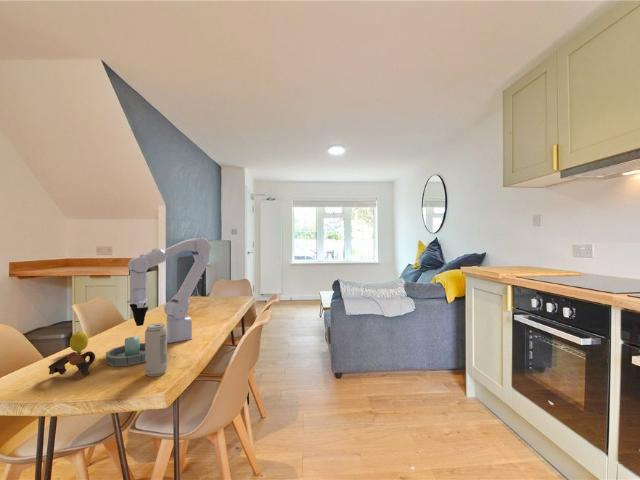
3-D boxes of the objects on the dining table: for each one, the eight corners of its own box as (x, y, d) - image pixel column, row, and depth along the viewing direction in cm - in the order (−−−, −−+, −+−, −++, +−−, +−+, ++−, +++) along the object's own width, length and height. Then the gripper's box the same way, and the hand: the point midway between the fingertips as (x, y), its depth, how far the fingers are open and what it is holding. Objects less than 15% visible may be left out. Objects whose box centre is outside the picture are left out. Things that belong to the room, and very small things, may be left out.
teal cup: (139, 352, 119) (139, 335, 119) (140, 356, 116) (140, 338, 116) (124, 355, 117) (124, 338, 117) (125, 358, 113) (125, 341, 113)
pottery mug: (67, 387, 95) (52, 363, 94) (54, 394, 99) (38, 371, 99) (106, 362, 106) (92, 340, 105) (92, 370, 110) (79, 349, 109)
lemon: (78, 355, 119) (78, 333, 119) (66, 354, 120) (65, 332, 120) (92, 350, 124) (91, 329, 124) (79, 349, 126) (79, 328, 126)
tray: (154, 347, 127) (154, 340, 127) (160, 359, 114) (160, 351, 114) (105, 355, 118) (105, 348, 118) (106, 370, 105) (105, 361, 105)
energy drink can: (150, 369, 105) (150, 323, 105) (170, 369, 106) (169, 322, 106) (141, 377, 99) (141, 328, 99) (162, 377, 100) (161, 327, 100)
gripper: (125, 287, 131) (125, 321, 131) (127, 291, 119) (128, 329, 119) (145, 285, 135) (145, 318, 135) (149, 289, 123) (150, 326, 123)
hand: (138, 323), depth 127 cm, fingers open, 7 cm apart
